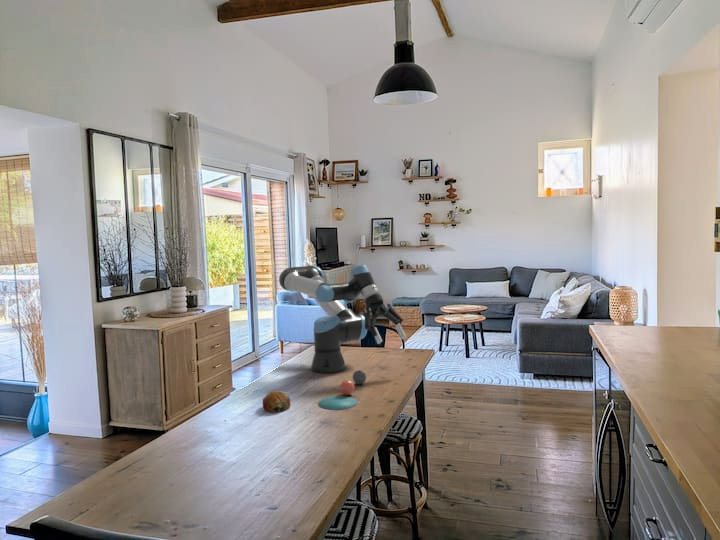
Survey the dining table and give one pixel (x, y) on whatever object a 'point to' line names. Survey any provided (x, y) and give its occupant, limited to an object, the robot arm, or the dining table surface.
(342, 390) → the red ball
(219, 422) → the dining table surface
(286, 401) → the bread roll
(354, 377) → the gray ball
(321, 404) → the teal mark
